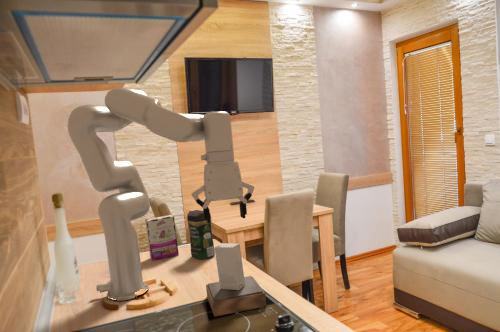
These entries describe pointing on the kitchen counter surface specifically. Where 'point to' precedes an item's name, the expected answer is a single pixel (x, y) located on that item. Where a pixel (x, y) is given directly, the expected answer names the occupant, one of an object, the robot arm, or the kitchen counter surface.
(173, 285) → the kitchen counter surface
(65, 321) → the kitchen counter surface
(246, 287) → the walnut plinth
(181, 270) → the kitchen counter surface
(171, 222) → the candy bar box
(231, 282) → the skincare box
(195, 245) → the coffee jar
